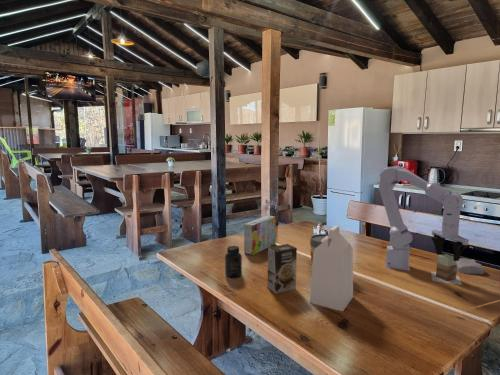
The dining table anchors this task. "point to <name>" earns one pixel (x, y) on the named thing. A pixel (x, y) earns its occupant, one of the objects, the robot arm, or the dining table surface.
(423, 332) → the dining table surface
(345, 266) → the milk
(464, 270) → the stone block
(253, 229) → the snack box
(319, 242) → the reusable coffee cup
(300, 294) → the dining table surface
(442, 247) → the robot arm
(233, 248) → the supplement bottle
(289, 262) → the coffee box
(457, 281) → the felt mat
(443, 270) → the tower top
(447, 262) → the pale green cube
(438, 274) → the tower base
